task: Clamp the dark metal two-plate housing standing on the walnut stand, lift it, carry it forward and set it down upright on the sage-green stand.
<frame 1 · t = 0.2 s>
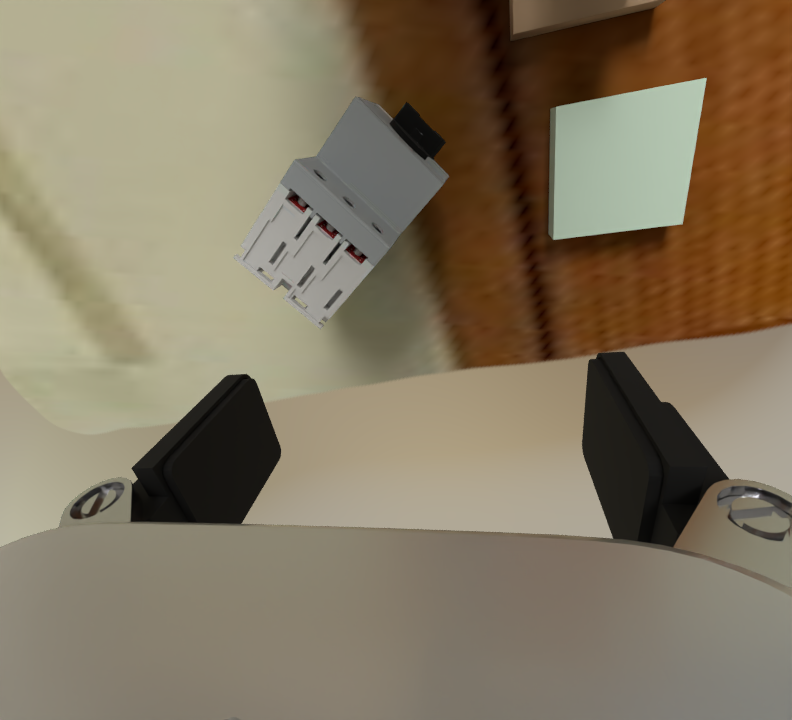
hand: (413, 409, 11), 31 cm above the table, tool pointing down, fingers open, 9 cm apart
circuit breaker: (381, 190, 38), on the table
stand green: (611, 165, 34), on the table
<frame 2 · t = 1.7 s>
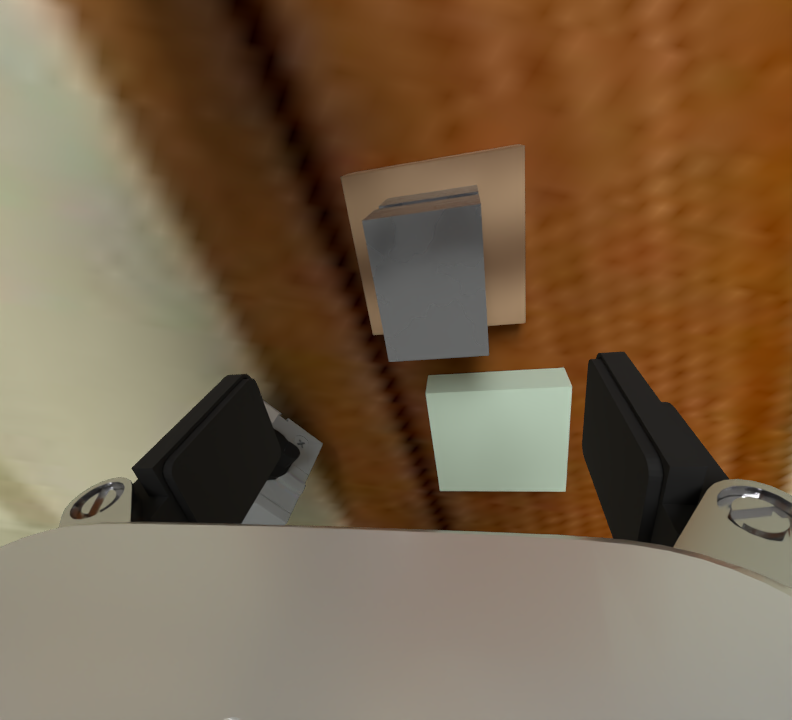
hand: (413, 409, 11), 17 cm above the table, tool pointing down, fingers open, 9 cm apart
circuit breaker: (270, 420, 36), on the table
stand green: (496, 423, 32), on the table
housing: (438, 253, 24), point 2 cm above the table, touching stand walnut
stand walnut: (440, 243, 26), on the table
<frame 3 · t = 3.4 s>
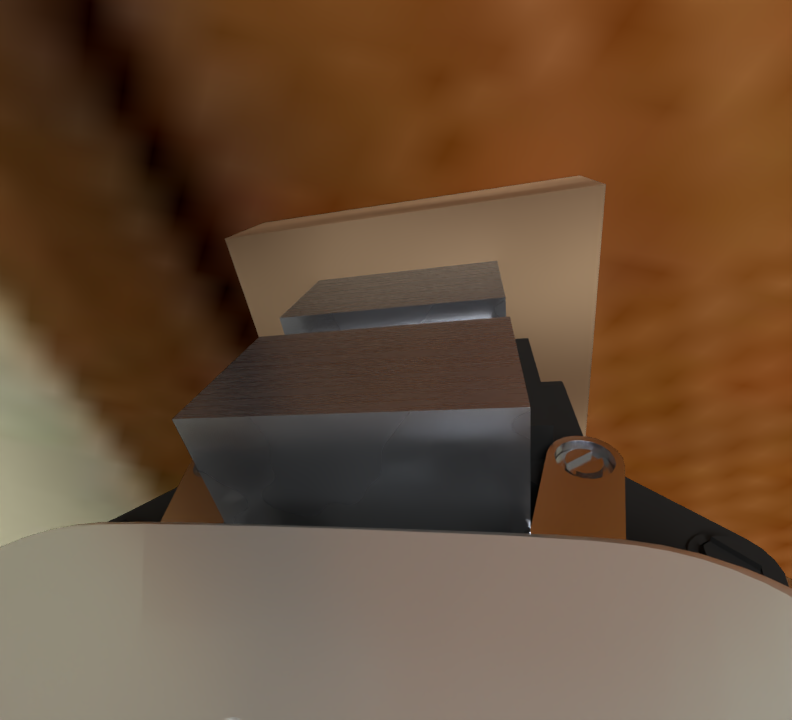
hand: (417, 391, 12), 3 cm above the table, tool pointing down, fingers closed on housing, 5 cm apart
housing: (420, 379, 13), point 2 cm above the table, touching gripper, stand walnut
stand walnut: (427, 344, 15), on the table
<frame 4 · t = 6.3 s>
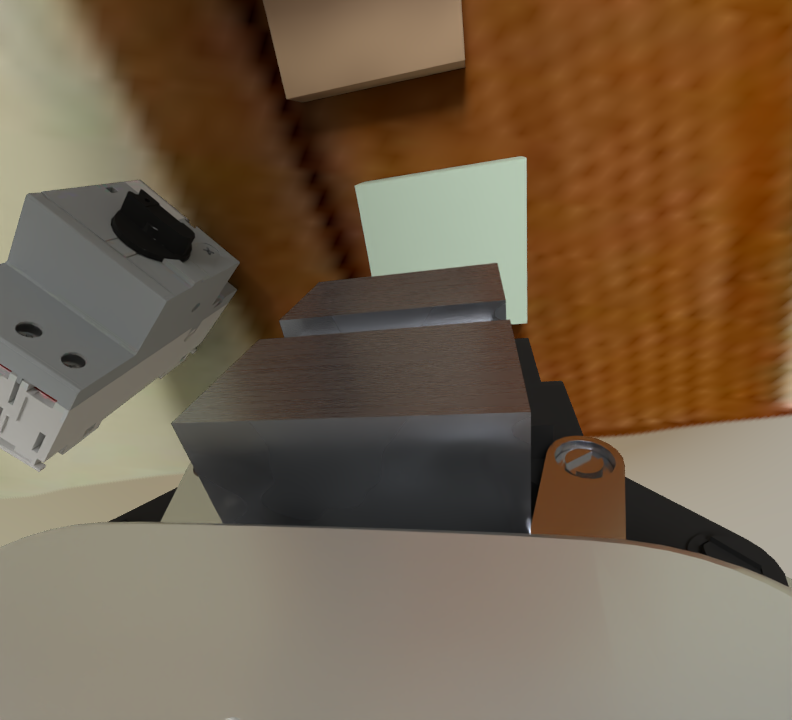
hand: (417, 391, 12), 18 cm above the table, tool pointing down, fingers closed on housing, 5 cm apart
circuit breaker: (193, 265, 32), on the table
stand green: (447, 248, 28), on the table
housing: (420, 381, 13), point 17 cm above the table, touching gripper
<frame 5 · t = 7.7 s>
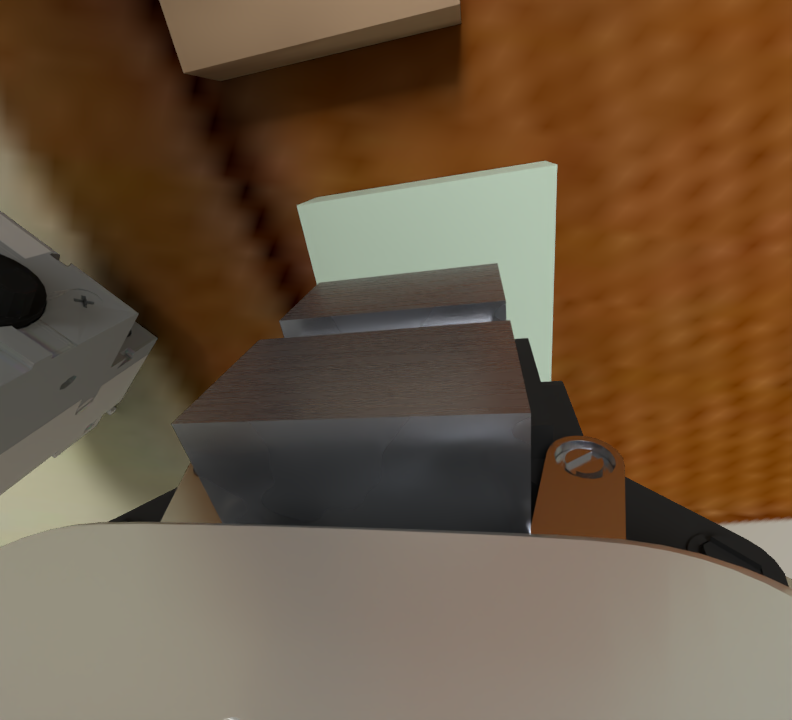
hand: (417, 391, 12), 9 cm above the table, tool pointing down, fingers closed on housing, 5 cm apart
circuit breaker: (99, 305, 24), on the table
stand green: (436, 289, 20), on the table
housing: (420, 381, 13), point 8 cm above the table, touching gripper
when the fingers open (5 cm above the table, at t = 9.0 s): housing drops 1 cm, resting on stand green.
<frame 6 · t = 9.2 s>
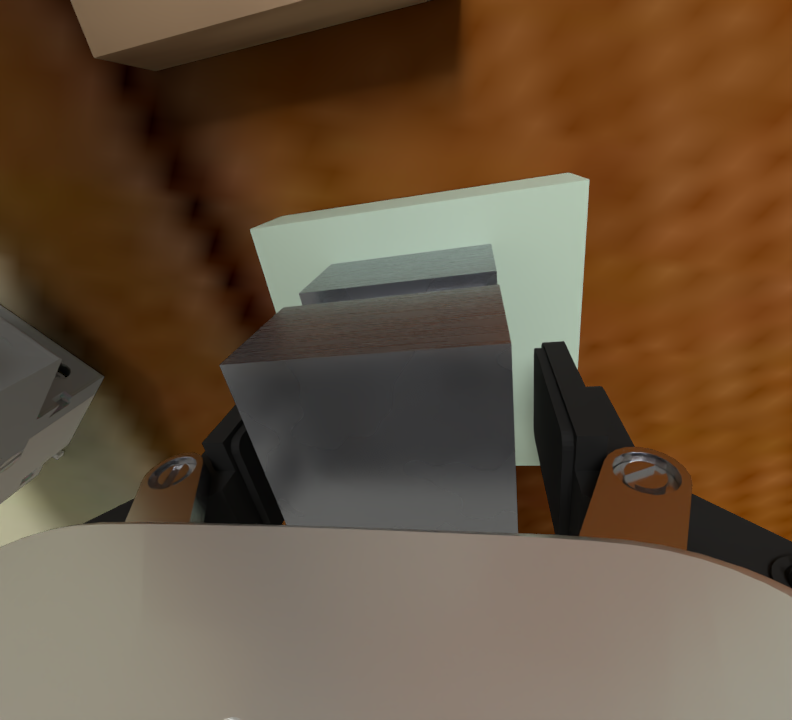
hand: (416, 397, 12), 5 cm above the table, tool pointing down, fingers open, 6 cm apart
circuit breaker: (34, 339, 20), on the table
stand green: (430, 328, 16), on the table
housing: (422, 354, 14), point 2 cm above the table, touching stand green
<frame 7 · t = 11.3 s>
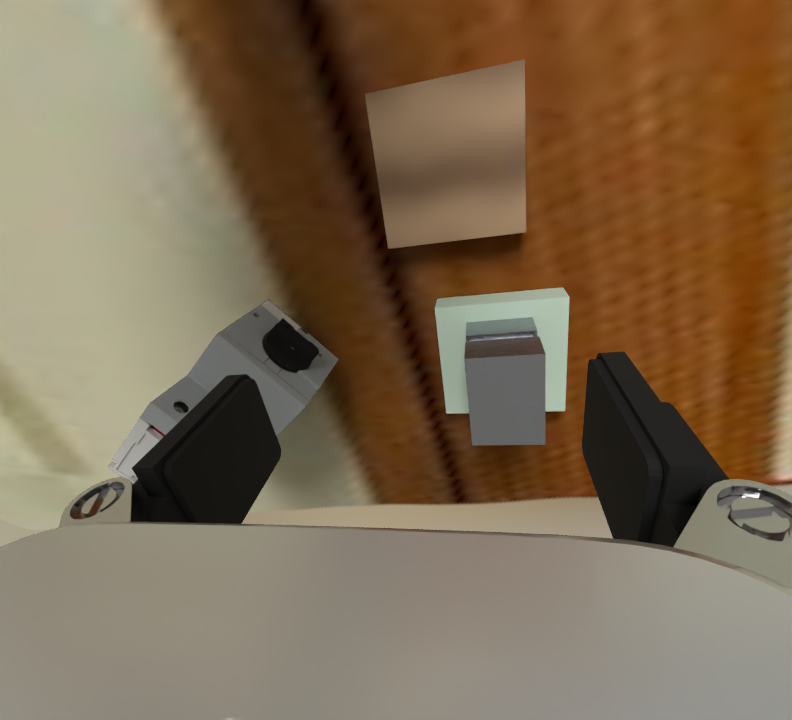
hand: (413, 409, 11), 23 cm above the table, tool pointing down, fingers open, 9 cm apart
circuit breaker: (289, 350, 39), on the table
stand green: (500, 348, 35), on the table
housing: (500, 359, 33), point 2 cm above the table, touching stand green
stand walnut: (450, 165, 29), on the table
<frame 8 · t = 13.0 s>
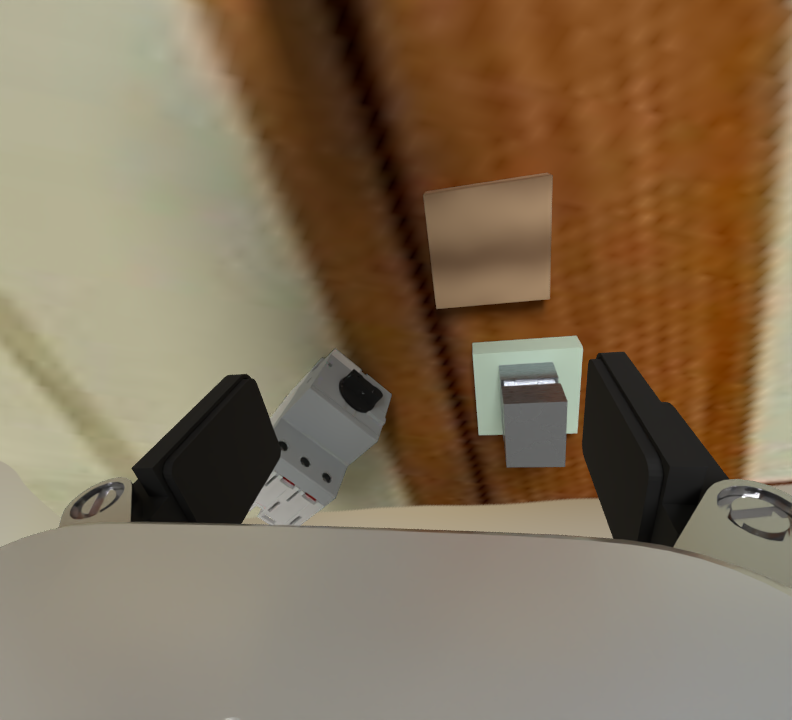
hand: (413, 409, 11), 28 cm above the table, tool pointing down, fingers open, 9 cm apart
circuit breaker: (343, 381, 46), on the table
stand green: (523, 381, 42), on the table
housing: (525, 393, 40), point 2 cm above the table, touching stand green
stand walnut: (487, 242, 36), on the table
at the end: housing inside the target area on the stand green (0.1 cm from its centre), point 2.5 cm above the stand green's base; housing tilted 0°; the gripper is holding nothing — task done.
